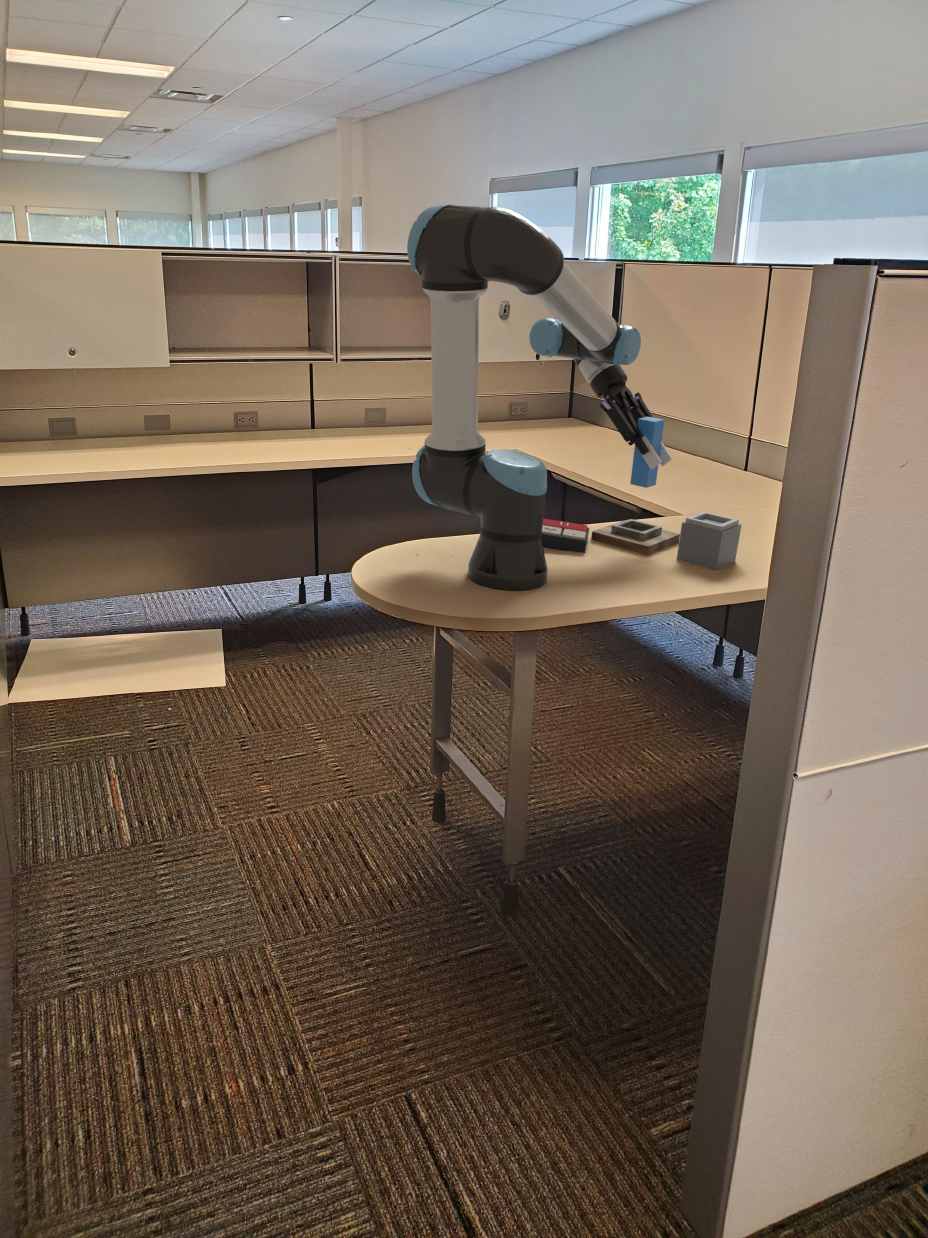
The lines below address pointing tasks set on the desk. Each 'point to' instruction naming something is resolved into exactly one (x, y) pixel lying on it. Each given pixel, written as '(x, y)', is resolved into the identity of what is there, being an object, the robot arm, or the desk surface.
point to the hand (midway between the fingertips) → (661, 463)
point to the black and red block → (564, 536)
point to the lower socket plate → (636, 536)
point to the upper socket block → (709, 540)
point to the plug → (640, 468)
